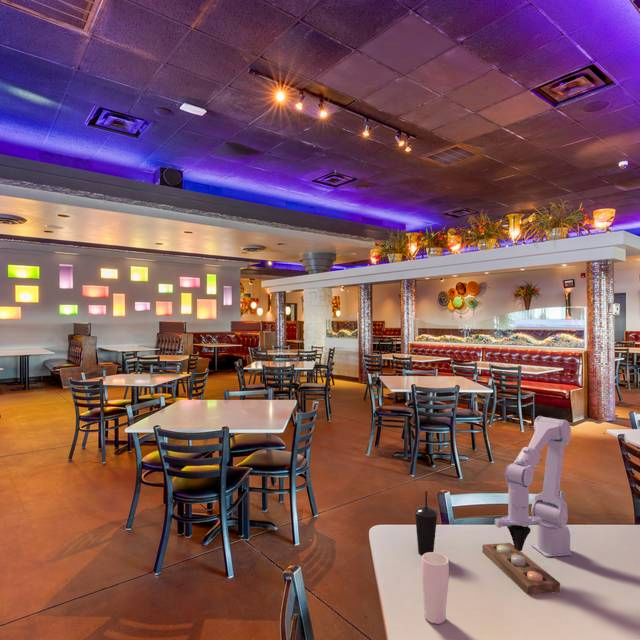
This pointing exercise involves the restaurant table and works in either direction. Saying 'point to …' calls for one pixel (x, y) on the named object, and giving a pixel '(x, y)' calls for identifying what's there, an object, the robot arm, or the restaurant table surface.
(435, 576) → the drinking glass
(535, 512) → the robot arm
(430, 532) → the drinking cup
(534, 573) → the terracotta button
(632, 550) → the restaurant table surface
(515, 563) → the grey button
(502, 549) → the sage button
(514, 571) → the panel
